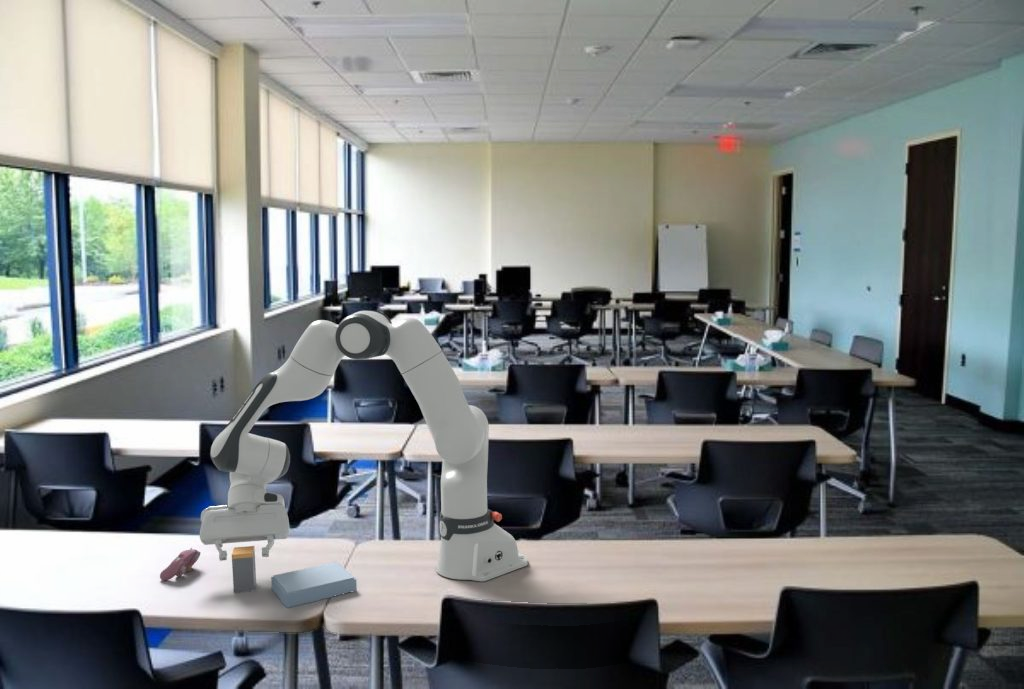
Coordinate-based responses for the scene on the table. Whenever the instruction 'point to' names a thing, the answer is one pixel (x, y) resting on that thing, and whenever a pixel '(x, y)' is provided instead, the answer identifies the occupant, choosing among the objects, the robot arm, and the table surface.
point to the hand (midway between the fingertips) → (244, 557)
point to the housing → (243, 569)
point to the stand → (312, 584)
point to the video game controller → (180, 564)
